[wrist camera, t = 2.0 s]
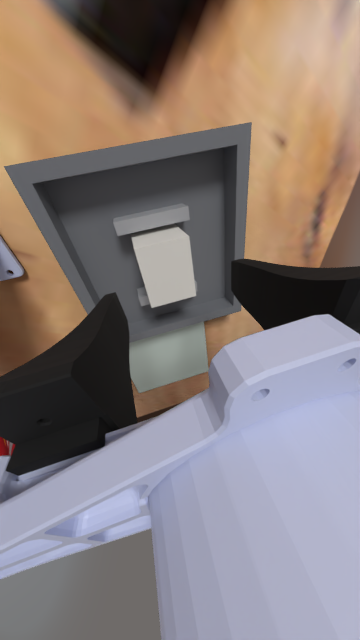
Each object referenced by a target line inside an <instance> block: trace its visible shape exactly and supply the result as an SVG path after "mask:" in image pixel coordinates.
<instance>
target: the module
mask: <svg viewBox="0 0 360 640" xmlns="http://www.w3.org/2000/svg"><path fill="white" fill-rule="evenodd" d="M131 238H132V242H133V247H134V251H135V254H136V258H137V261H138V264H139V268H140V271H141V274H142V278H143V281H144V284H145V288H146V291H147V294H148V298H149V301H150V304H151V308H154V307H157V306H161V305H165V304H168V303H172V302H176V301H179V300H183V299H187V298H190V297H194V296H196V290H195V281H194V273H193V264H192V255H191V247H190V238H189V236H188V235H187V234H186V233H185V232H184V231H182V230H181V229H180V228H179V227H178V226H176V225H175V224H169V225H165V226H160V227H156V228H152V229H147V230H143V231H139V232H134V233H131Z"/></svg>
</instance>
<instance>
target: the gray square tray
mask: <svg viewBox="0 0 360 640" xmlns="http://www.w3.org/2000/svg"><path fill="white" fill-rule="evenodd" d="M251 125H252V122H250V123H244V124H239V125H233V126H228V127H222V128H216V129H211V130H205V131H200V132H194V133H188V134H183V135H177V136H172V137H166V138H161V139H155V140H149V141H144V142H138V143H133V144H127V145H121V146H116V147H110V148H105V149H99V150H93V151H88V152H82V153H77V154H71V155H66V156H60V157H54V158H49V159H43V160H38V161H32V162H26V163H21V164H15V165H10V166H4V168H5V169H6V171H7V173H8V175H9V176H10V178H11V180H12V182H13V184H14V185H15V187H16V189H17V191H18V192H19V194H20V196H21V198H22V199H23V201H24V203H25V205H26V206H27V208H28V210H29V212H30V213H31V215H32V217H33V219H34V220H35V222H36V224H37V226H38V228H39V229H40V231H41V233H42V235H43V236H44V238H45V240H46V242H47V243H48V245H49V247H50V249H51V250H52V252H53V254H54V256H55V257H56V259H57V261H58V263H59V264H60V266H61V268H62V270H63V272H64V273H65V275H66V277H67V279H68V280H69V282H70V284H71V286H72V287H73V289H74V291H75V293H76V294H77V296H78V298H79V300H80V301H81V303H82V305H83V307H84V308H85V310H86V312H87V314H89V313H90V312H91V311H92V310H93V309H94V307H95V306H96V305H97V304H98V302H99V301H100V300H101V299H102V298H103V296H105V295H106V294H110V293H114V292H116V294H117V296H118V299H119V301H120V303H121V306H122V308H123V310H124V313H125V315H126V317H127V320H128V326H129V343H131V342H135V341H138V340H142V339H145V338H148V337H152V336H155V335H159V334H162V333H166V332H169V331H173V330H176V329H180V328H183V327H187V326H190V325H194V324H197V323H200V322H204V321H207V320H211V319H214V318H218V317H221V316H225V315H228V314H232V313H235V312H239V311H241V304H240V303H239V301H238V300H237V299H236V297H235V296H234V294H233V292H232V291H231V261H234V260H238V259H244V249H245V231H246V214H247V196H248V178H249V160H250V142H251ZM169 224H175V225H176V226H178V227H179V228H180V229H181V230H182V231H184V232H185V233H186V234H187V235H188V236H189V238H190V247H191V255H192V264H193V273H194V281H195V290H196V296H194V297H190V298H187V299H183V300H179V301H176V302H172V303H168V304H165V305H161V306H157V307H154V308H151V304H150V301H149V298H148V294H147V291H146V288H145V284H144V281H143V278H142V274H141V271H140V268H139V264H138V261H137V258H136V254H135V251H134V247H133V242H132V238H131V233H134V232H139V231H143V230H147V229H152V228H156V227H160V226H165V225H169Z"/></svg>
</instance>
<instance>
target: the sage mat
mask: <svg viewBox="0 0 360 640" xmlns="http://www.w3.org/2000/svg"><path fill="white" fill-rule="evenodd" d="M129 363H130V375H131V379H132V381H133V383H134V384H135V386H136V388H137V390H138V392H139V393H141V392H144V391H148V390H151V389H154V388H157V387H160V386H163V385H166V384H170V383H173V382H176V381H179V380H182V379H185V378H189V377H192V376H195V375H198V374H201V373H204V372H207V371H209V369H208V359H207V349H206V339H205V328H204V322H200V323H197V324H194V325H190V326H187V327H183V328H180V329H176V330H173V331H169V332H166V333H162V334H159V335H155V336H152V337H148V338H145V339H142V340H138V341H135V342H131V343H129Z"/></svg>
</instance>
